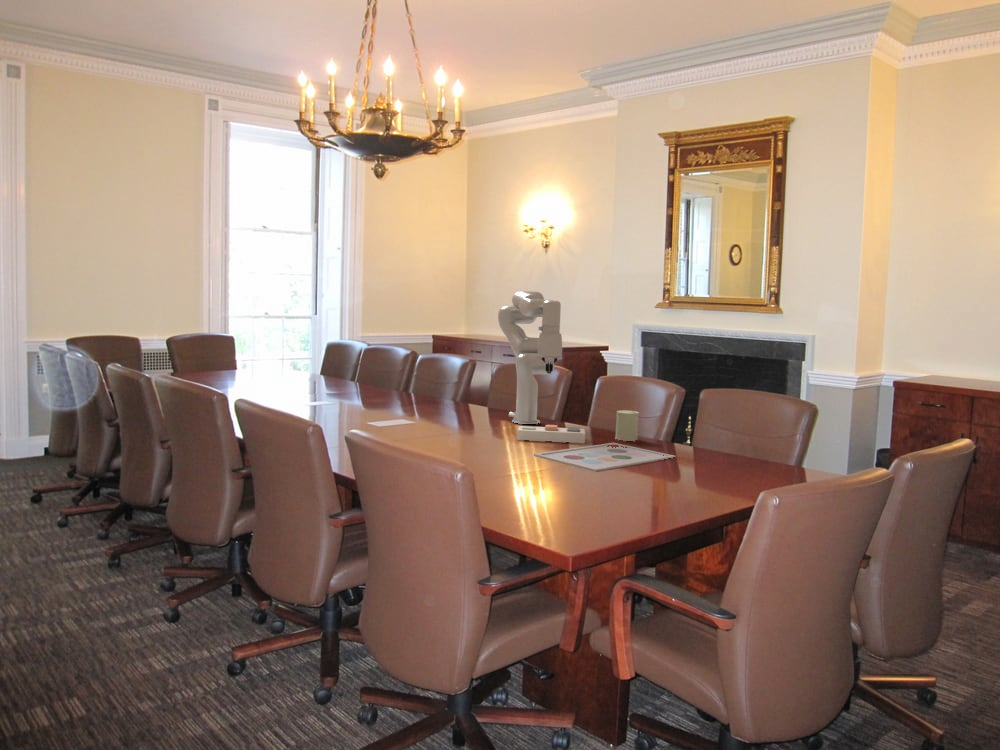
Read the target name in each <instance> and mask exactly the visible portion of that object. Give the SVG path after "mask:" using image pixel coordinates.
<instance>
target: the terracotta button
mask: <svg viewBox="0 0 1000 750" xmlns="http://www.w3.org/2000/svg"><path fill="white" fill-rule="evenodd" d="M544 427H545V430H547V431H557V428H558V424H556V425H555V424H545V426H544Z"/></svg>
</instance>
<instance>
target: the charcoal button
mask: <svg viewBox="0 0 1000 750" xmlns="http://www.w3.org/2000/svg"><path fill="white" fill-rule="evenodd" d="M567 428H568V431H569V432H580V429H581V428H575V427H574V428H572V427H567Z"/></svg>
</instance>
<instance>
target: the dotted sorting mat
mask: <svg viewBox="0 0 1000 750" xmlns="http://www.w3.org/2000/svg"><path fill="white" fill-rule="evenodd" d="M608 445H618V446H619V447H616V448H615V447H613V448H612V447H611V446H609V447H607V446H608ZM621 446H623V447H624V448H623V447H621ZM625 447H627V448H625ZM663 455H664V456H663ZM533 457H538V458H541V459H545V460H548V461H553V462H557V463H561V464H565V465H567V466H568V465H569V466H573V467H576V468H580V469H584V470H587V471H588V470H589V471H591V472H601V471H605V470H611V469H618V468H624V467H629V466H635V465H636V466H637V465H641V464H648V463H654V462H658V461H659V460H660V461H664V459H666V460H669V459H668V458H671V459H674V458H673V457H675V458H676V455H673V454H667V453H665V452H659V451H655V450H649V449H644V448H641V447H636V446H631V445H627V444H621V443H617V442H608V443H602V444H594V445H587V446H581V447H580V446H579V447H573V448H565V449H558V450H552V451H545V452H538V453H533Z"/></svg>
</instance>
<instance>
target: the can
mask: <svg viewBox="0 0 1000 750" xmlns="http://www.w3.org/2000/svg"><path fill="white" fill-rule="evenodd" d="M639 415H640V412H639V411H635V410H626V409H623V410H622V409H621V410H616V421H615V422H616V424H615V437H614V439H615V440H616V439H618V440H617V441H619V440H623V441H622V442H626V441H633V442H636V441H635V440H637V441H639V440H638V435H639V434H638V433H639V431H638V430H639Z"/></svg>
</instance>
